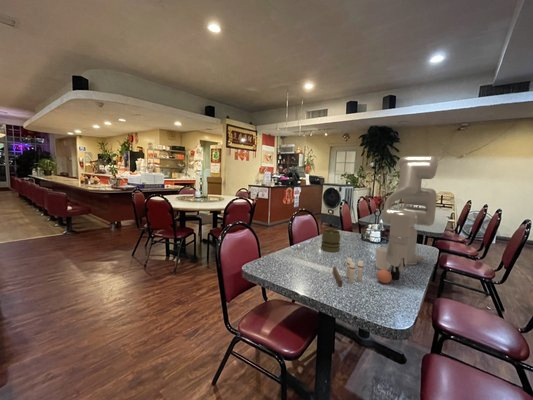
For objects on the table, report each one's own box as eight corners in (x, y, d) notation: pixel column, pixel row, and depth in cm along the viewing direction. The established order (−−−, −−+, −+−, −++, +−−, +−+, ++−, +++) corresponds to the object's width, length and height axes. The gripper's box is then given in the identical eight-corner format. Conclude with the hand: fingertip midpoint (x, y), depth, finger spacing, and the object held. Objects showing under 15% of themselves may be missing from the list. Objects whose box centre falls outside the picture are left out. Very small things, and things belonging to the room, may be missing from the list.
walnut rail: (335, 271, 120) (335, 267, 120) (341, 286, 104) (342, 281, 104) (332, 271, 120) (333, 266, 120) (339, 286, 104) (339, 280, 104)
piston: (340, 230, 159) (340, 234, 148) (339, 248, 160) (339, 253, 149) (323, 228, 162) (321, 232, 151) (322, 246, 163) (320, 251, 152)
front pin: (361, 279, 112) (362, 260, 111) (362, 281, 110) (364, 262, 109) (356, 279, 112) (357, 260, 111) (357, 281, 110) (358, 262, 109)
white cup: (381, 271, 123) (383, 252, 122) (370, 265, 131) (372, 247, 130) (394, 269, 125) (395, 251, 124) (383, 264, 133) (384, 246, 132)
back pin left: (352, 281, 110) (354, 262, 109) (354, 283, 108) (355, 263, 107) (347, 280, 110) (349, 261, 109) (348, 282, 108) (350, 263, 107)
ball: (390, 270, 112) (379, 264, 112) (396, 277, 106) (385, 270, 106) (383, 281, 113) (372, 275, 113) (389, 288, 107) (377, 281, 107)
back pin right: (350, 276, 115) (351, 258, 114) (351, 278, 113) (352, 259, 112) (345, 276, 115) (346, 257, 114) (346, 278, 113) (347, 259, 112)
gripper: (383, 235, 115) (379, 272, 117) (397, 244, 100) (393, 286, 102) (399, 236, 114) (395, 273, 116) (416, 245, 99) (412, 287, 101)
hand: (394, 279), depth 109 cm, fingers closed
